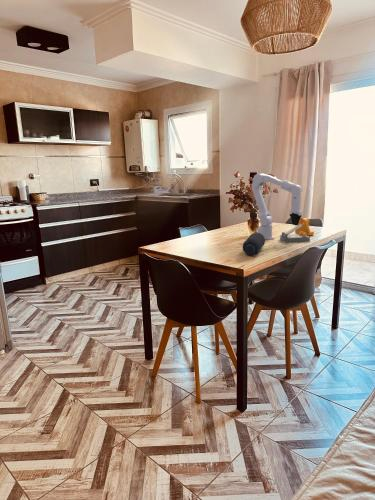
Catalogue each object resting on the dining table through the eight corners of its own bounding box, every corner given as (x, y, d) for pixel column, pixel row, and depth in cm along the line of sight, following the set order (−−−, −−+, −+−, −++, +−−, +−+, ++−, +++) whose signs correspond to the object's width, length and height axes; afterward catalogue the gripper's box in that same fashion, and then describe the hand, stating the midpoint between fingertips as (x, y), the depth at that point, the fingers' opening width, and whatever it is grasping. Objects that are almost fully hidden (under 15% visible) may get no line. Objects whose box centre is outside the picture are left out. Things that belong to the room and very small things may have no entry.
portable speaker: (249, 246, 216) (249, 231, 214) (265, 247, 213) (266, 231, 210) (241, 257, 194) (241, 239, 191) (259, 258, 190) (259, 240, 188)
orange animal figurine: (314, 235, 241) (315, 218, 239) (308, 236, 237) (309, 219, 234) (300, 233, 250) (301, 216, 247) (295, 234, 245) (295, 218, 242)
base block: (286, 242, 222) (286, 234, 220) (280, 239, 231) (280, 231, 230) (309, 241, 223) (310, 233, 222) (302, 238, 233) (303, 230, 232)
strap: (285, 237, 224) (284, 235, 224) (283, 236, 227) (282, 234, 227) (302, 225, 224) (301, 224, 224) (300, 225, 227) (299, 223, 227)
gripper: (306, 205, 215) (306, 226, 218) (297, 202, 229) (296, 222, 232) (296, 205, 214) (295, 227, 217) (286, 203, 228) (286, 223, 231)
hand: (295, 224), depth 225 cm, fingers open, 3 cm apart
